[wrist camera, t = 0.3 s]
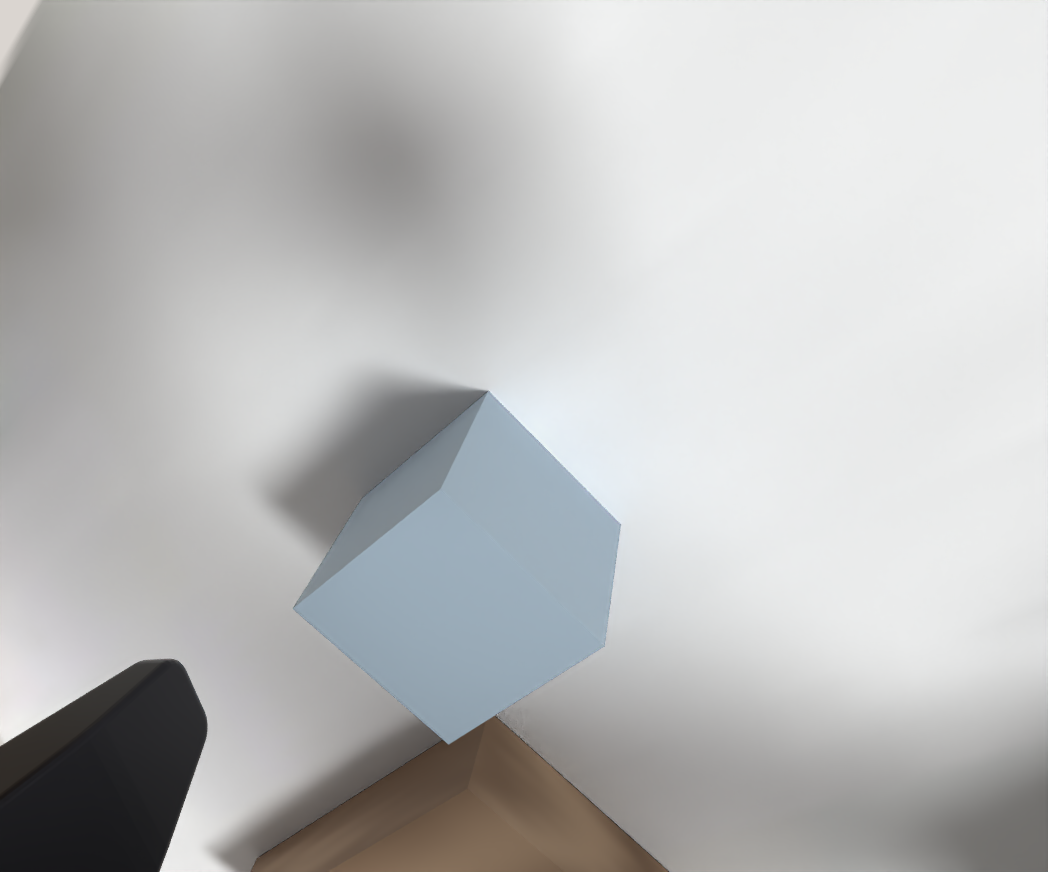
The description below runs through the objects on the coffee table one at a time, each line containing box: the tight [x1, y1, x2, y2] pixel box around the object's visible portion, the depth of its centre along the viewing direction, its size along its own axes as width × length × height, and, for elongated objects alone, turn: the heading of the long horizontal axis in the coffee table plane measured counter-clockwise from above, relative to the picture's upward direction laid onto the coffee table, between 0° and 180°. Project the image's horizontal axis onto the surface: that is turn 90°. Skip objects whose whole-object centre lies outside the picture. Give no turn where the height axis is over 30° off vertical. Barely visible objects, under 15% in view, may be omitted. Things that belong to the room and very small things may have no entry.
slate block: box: [293, 391, 621, 745], centre depth 22 cm, size 5×5×5 cm
